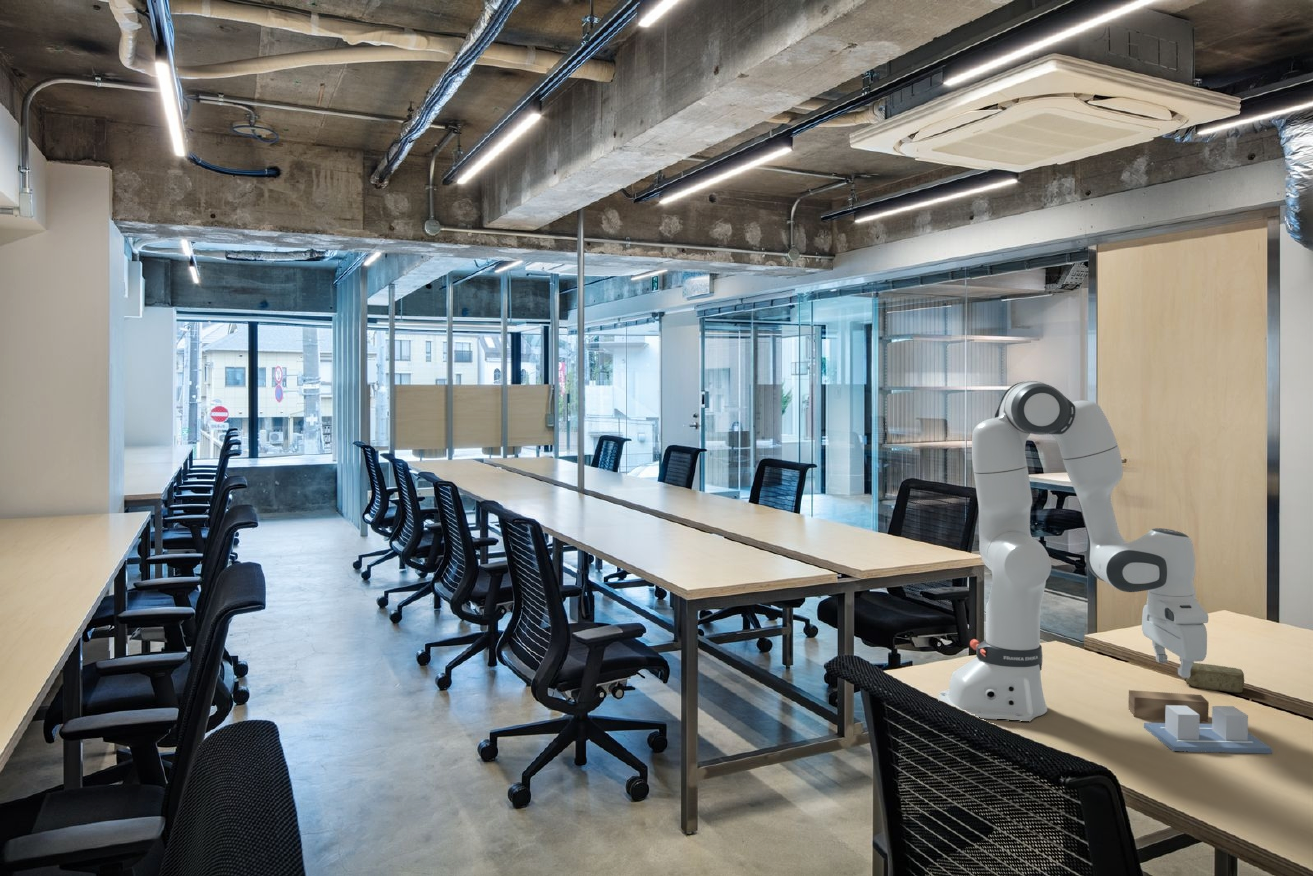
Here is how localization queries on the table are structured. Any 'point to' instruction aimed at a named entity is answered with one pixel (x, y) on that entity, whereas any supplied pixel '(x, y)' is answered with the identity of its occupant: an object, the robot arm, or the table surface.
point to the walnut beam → (1165, 703)
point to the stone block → (1216, 678)
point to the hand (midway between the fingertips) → (1172, 669)
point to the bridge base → (1207, 731)
